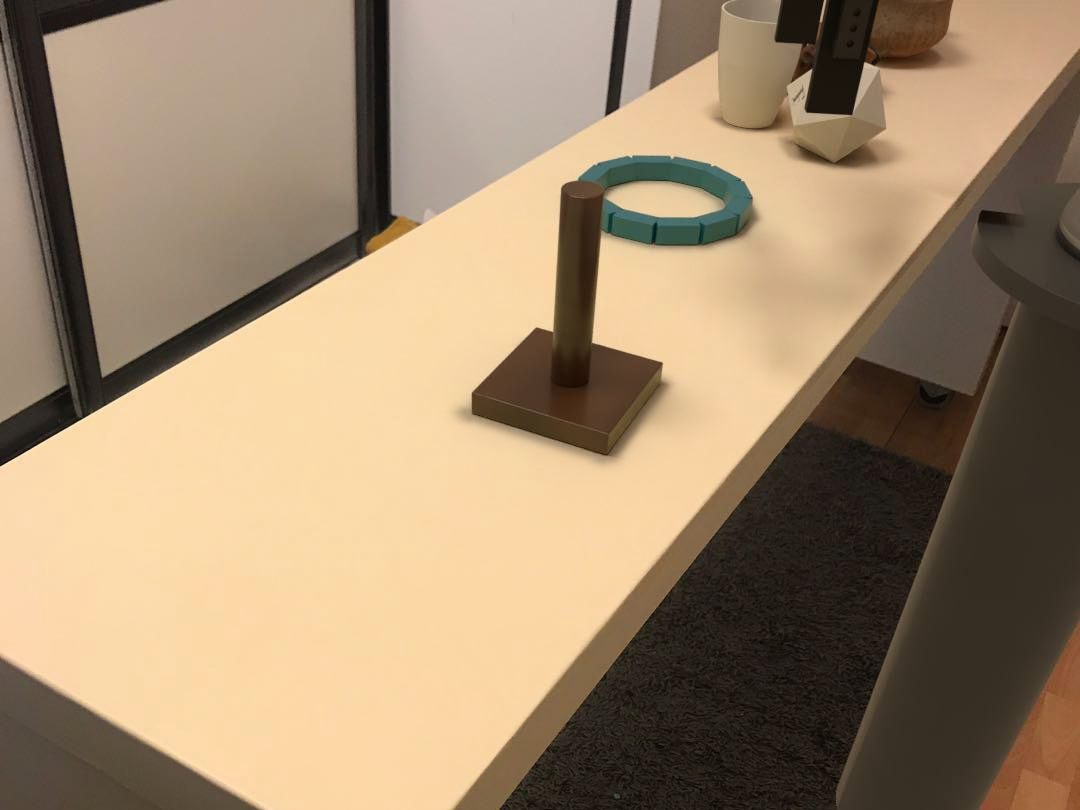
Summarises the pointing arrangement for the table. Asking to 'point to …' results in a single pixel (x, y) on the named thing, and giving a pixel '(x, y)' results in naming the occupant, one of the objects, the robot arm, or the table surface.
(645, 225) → the ring
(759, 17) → the cup
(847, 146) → the die
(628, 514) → the table surface
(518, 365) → the post
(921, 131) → the table surface
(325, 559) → the table surface
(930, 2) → the bowl
